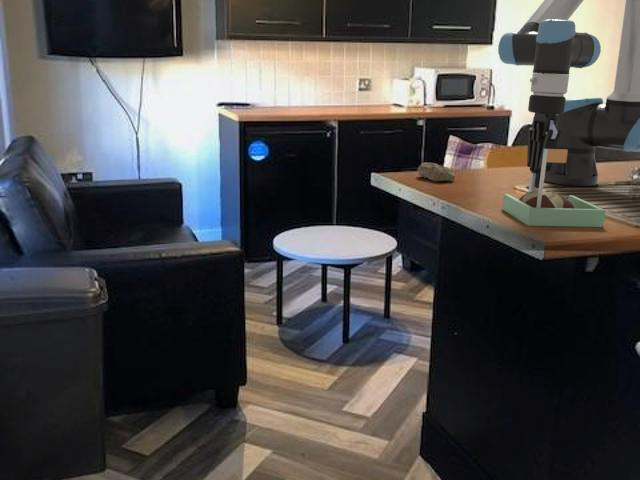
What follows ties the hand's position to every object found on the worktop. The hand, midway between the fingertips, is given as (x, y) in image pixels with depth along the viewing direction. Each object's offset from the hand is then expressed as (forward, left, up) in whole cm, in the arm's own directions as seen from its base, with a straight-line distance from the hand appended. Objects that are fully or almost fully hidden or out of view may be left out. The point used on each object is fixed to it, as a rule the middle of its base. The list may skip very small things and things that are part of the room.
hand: (534, 200), depth 154 cm
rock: (+13, -35, -2) cm, 38 cm away
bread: (0, +6, -2) cm, 7 cm away
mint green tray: (0, +9, -2) cm, 9 cm away
